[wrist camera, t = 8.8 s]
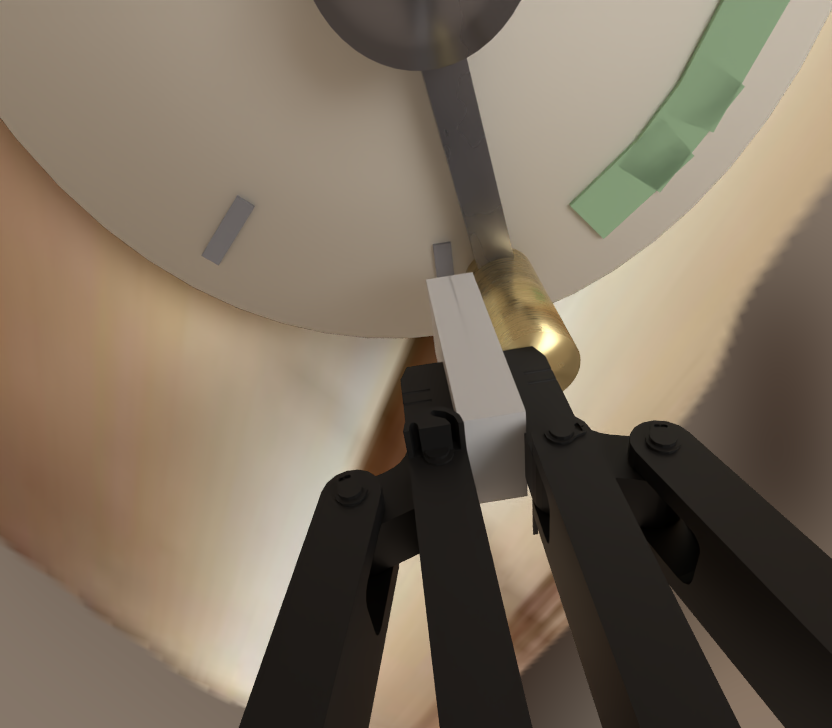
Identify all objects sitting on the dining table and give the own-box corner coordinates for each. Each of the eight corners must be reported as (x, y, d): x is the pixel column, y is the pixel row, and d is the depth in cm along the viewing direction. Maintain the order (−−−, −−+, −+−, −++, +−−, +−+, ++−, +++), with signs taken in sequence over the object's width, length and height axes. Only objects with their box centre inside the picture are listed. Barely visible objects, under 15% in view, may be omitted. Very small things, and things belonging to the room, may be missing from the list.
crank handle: (266, -156, 13) (224, -204, 9) (482, -250, 12) (548, -350, 8) (439, 328, 21) (460, 424, 17) (574, 285, 20) (631, 374, 16)
